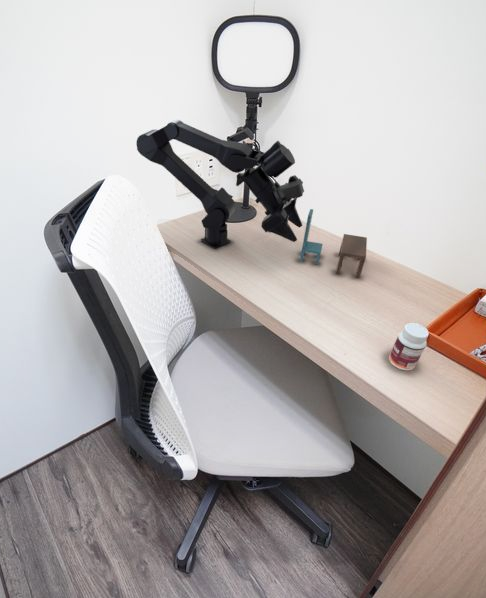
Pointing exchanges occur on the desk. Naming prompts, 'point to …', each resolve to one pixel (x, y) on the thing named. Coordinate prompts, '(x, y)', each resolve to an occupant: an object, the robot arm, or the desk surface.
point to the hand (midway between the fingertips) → (298, 233)
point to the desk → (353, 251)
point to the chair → (310, 246)
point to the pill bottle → (409, 346)
